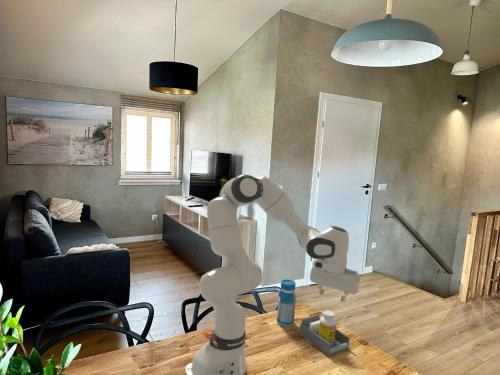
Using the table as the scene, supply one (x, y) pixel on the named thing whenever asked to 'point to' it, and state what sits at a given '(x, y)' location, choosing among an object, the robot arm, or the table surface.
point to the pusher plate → (315, 326)
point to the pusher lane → (339, 342)
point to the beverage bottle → (286, 303)
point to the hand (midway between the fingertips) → (332, 297)
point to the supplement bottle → (328, 326)
